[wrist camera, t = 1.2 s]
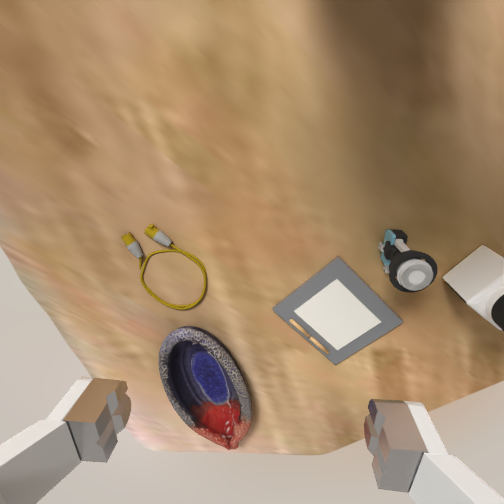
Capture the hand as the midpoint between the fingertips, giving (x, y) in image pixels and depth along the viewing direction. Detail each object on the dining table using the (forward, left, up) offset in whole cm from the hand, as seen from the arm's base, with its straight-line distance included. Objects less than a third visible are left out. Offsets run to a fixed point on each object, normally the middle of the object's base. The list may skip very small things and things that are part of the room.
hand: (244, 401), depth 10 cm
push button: (-5, +19, -35) cm, 40 cm away
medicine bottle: (-12, +31, -35) cm, 49 cm away
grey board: (+8, +23, -35) cm, 43 cm away
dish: (+36, +19, -36) cm, 54 cm away
